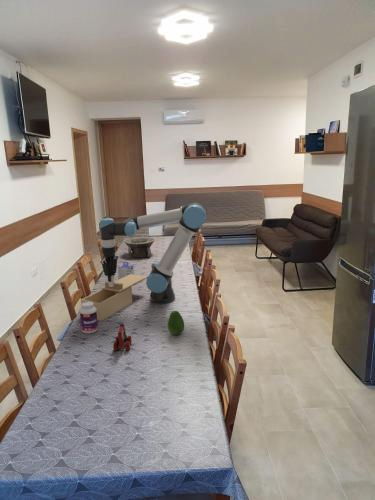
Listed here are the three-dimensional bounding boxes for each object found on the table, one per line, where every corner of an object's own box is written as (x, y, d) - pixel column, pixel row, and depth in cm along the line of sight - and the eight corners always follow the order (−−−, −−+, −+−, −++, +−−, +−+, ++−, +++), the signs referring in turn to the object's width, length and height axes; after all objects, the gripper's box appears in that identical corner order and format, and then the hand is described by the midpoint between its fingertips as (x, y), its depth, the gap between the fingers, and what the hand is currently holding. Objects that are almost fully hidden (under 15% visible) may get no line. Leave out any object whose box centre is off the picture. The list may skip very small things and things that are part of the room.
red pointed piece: (132, 340, 172) (131, 319, 170) (129, 353, 160) (127, 332, 157) (117, 340, 172) (116, 320, 169) (113, 354, 160) (111, 332, 157)
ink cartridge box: (134, 281, 254) (133, 261, 251) (132, 284, 249) (131, 263, 245) (120, 281, 255) (119, 261, 252) (118, 284, 250) (117, 263, 246)
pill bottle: (83, 335, 177) (80, 308, 173) (79, 329, 184) (77, 302, 180) (99, 332, 181) (97, 304, 177) (95, 325, 188) (93, 299, 184)
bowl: (130, 251, 336) (129, 235, 332) (158, 252, 332) (157, 236, 329) (121, 259, 310) (120, 242, 307) (151, 260, 307) (150, 243, 303)
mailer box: (132, 302, 217) (131, 286, 214) (101, 321, 193) (99, 303, 190) (114, 299, 223) (113, 283, 220) (82, 316, 198) (80, 299, 196)
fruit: (180, 339, 172) (180, 315, 169) (165, 336, 175) (164, 313, 172) (186, 332, 179) (186, 309, 176) (171, 329, 182) (171, 307, 179)
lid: (147, 277, 229) (147, 272, 228) (120, 292, 205) (119, 285, 204) (130, 275, 235) (130, 269, 234) (101, 289, 211) (101, 282, 210)
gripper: (110, 243, 210) (113, 282, 216) (95, 248, 199) (98, 289, 204) (121, 244, 207) (123, 283, 212) (106, 249, 195) (109, 291, 201)
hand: (111, 286), depth 208 cm, fingers closed
